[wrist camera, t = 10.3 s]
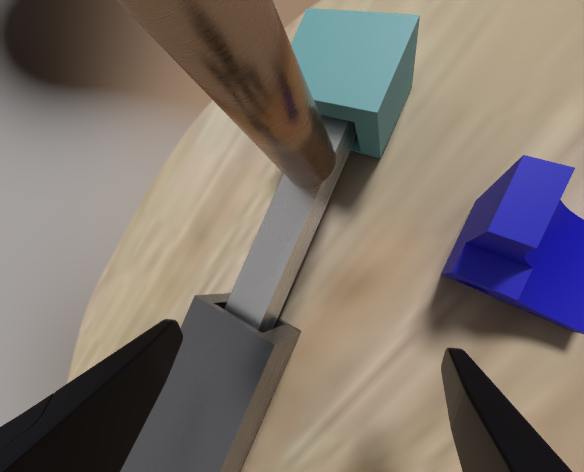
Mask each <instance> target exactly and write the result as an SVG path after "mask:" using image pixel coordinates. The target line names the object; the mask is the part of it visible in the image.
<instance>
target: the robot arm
mask: <svg viewBox="0 0 584 472" xmlns="http://www.w3.org/2000/svg"><path fill="white" fill-rule="evenodd" d="M182 341H183V333H182V331H181V329H180V327H179V325H178V322H177V321H176V320H171V319H165V320H163V321H161V322H160V323H158V324H157V325H155V326H154V327H152V328H151V329H149V330H148V331H146V332H145V333H143V334H142V335H140V336H139V337H137V338H135V339H134V340H132V341H131V342H129V343H128V344H126V345H125V346H123V347H122V348H120V349H119V350H117V351H116V352H114V353H113V354H111V355H110V356H108V357H107V358H105V359H104V360H102V361H101V362H99V363H98V364H96V365H95V366H93V367H92V368H90V369H89V370H87V371H86V372H84V373H83V374H81V375H80V376H78V377H77V378H75V379H74V380H72V381H71V382H69V383H68V384H66V385H65V386H63V387H62V388H60V389H59V390H57V391H56V392H55V393H54V394H51V395H50V396H48V397H47V398H45V399H44V400H42V401H41V402H39V403H38V404H36V405H35V406H33V407H32V408H30V409H28V410H27V411H25V412H24V413H22V414H21V415H19V416H18V417H16V418H14V419H13V420H11V421H9V422H8V423H6V424H4V425H3V426H1V427H0V472H120V471H121V469H122V467H123V465H124V463H125V461H126V460H127V458H128V456H129V454H130V452H131V450H132V448H133V446H134V444H135V442H136V440H137V438H138V436H139V434H140V432H141V430H142V428H143V426H144V424H145V422H146V420H147V418H148V416H149V415H150V413H151V411H152V409H153V407H154V405H155V403H156V401H157V399H158V397H159V395H160V393H161V391H162V389H163V387H164V385H165V383H166V381H167V378H168V376H169V374H170V371H171V369H172V366H173V364H174V361H175V359H176V356H177V354H178V351H179V349H180V346H181V344H182ZM441 372H442V379H443V384H444V390H445V396H446V402H447V408H448V414H449V420H450V426H451V430H452V434H453V438H454V442H455V446H456V449H457V453H458V456H459V460H460V464H461V467H462V471H463V472H572V471H571V470H570V469H569V467H568V466H567V465H566V464H565V463H564V462H563V461H562V460H561V459H560V457H559V456H558V455H557V454H556V453H555V452H554V451H553V450H552V448H551V447H550V446H549V445H548V444H547V443H546V442H545V441H544V439H543V438H542V437H541V436H540V435H539V434H538V433H537V432H536V431H535V429H534V428H533V427H532V426H531V425H530V424H529V423H528V422H527V420H526V419H525V418H524V417H523V416H522V415H521V414H520V413H519V411H518V410H517V409H516V408H515V407H514V406H513V405H512V404H511V403H510V401H509V400H508V399H507V398H506V397H505V396H504V395H503V394H502V392H501V391H500V390H499V389H498V388H497V387H496V386H495V385H494V384H493V382H492V381H491V380H490V379H489V378H488V377H487V376H486V375H485V373H484V372H483V371H482V370H481V369H480V368H479V367H478V366H477V364H476V363H475V362H474V361H473V360H472V359H471V358H470V357H469V356H468V354H467V353H466V352H465V351H464V350H462V349H458V348H447V349H446V350H445V354H444V357H443V361H442V365H441Z"/></svg>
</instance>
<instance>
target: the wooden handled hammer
mask: <svg viewBox="0 0 584 472" xmlns="http://www.w3.org/2000/svg"><path fill="white" fill-rule="evenodd" d="M117 1H118V2H119V3H120V4H121V5H122V6H123V7H124V8H125V9H126V10H127V11H128V12H129V13H130V15H131V16H132V17H133V18H134V19H135V20H136V21H137V22H138V23H139V24H140V25H141V26H142V27H143V28H144V29H145V30H146V31H147V32H148V33H149V34H150V35H151V36H152V37H153V38H154V39H155V40H156V41H157V43H158V44H159V45H161V47H162V48H163V49H164V50H165V51H166V52H167V53H168V54H169V55H170V56H171V57H172V58H173V59H174V60H175V61H176V62H177V63H178V64H179V65H180V66H181V67H182V68H183V69H184V70H185V72H186V73H187V74H188V75H189V76H190V77H191V78H192V79H193V80H194V81H195V82H196V83H197V84H198V85H199V86H200V87H201V88H202V89H203V90H204V91H205V92H206V93H207V94H208V95H209V96H210V97H211V99H212V100H213V101H214V102H215V103H216V104H217V105H218V106H219V107H220V108H221V109H222V110H223V111H224V112H225V113H226V114H227V115H228V116H229V117H230V118H231V119H232V120H233V121H234V122H235V123H236V124H237V125H238V126H239V128H240V129H241V130H242V131H243V132H244V133H245V134H246V135H247V136H248V137H249V138H250V139H251V140H252V141H253V142H254V143H255V144H256V145H257V146H258V147H259V148H260V149H261V150H262V151H263V152H264V153H265V154H266V155H267V157H268V158H269V159H270V160H271V161H272V162H273V163H274V164H275V165H276V166H277V167H278V168H279V169H280V170H281V171H282V172H283V173H284V174H283V176H282V179H281V181H280V183H279V185H278V188H277V190H276V192H275V194H274V197H273V199H272V201H271V204H270V206H269V208H268V210H267V213H266V215H265V217H264V220H263V222H262V224H261V226H260V229H259V231H258V233H257V236H256V238H255V240H254V242H253V245H252V247H251V249H250V251H249V254H248V256H247V258H246V261H245V263H244V265H243V267H242V270H241V272H240V274H239V277H238V279H237V281H236V283H235V286H234V288H233V290H232V293H231V295H230V297H229V299H228V302H227V304H226V306H225V309H224V310H226V311H227V312H229V313H231V314H232V315H234V316H236V317H237V318H239V319H240V320H242V321H244V322H245V323H247V324H249V325H250V326H252V327H253V328H255V329H257V330H258V331H260V332H262V333H264V332H267V331H269V330H272V329H273V328H274V326H275V323H276V321H277V319H278V316H279V314H280V312H281V309H282V307H283V305H284V303H285V300H286V298H287V296H288V293H289V291H290V289H291V286H292V284H293V282H294V280H295V277H296V275H297V273H298V270H299V268H300V266H301V263H302V261H303V259H304V257H305V254H306V252H307V250H308V247H309V245H310V243H311V240H312V238H313V236H314V234H315V231H316V229H317V227H318V224H319V222H320V220H321V217H322V215H323V213H324V211H325V208H326V206H327V204H328V201H329V199H330V197H331V194H332V192H333V190H334V188H335V185H336V183H337V181H338V178H339V176H340V174H341V171H342V169H343V167H344V165H345V162H346V160H347V158H348V155H349V153H350V151H351V148H352V146H353V144H354V142H355V139H356V137H357V132H356V127H355V123H354V122H351V121H346V120H342V119H338V118H333V117H329V116H324V115H320V114H319V111H318V109H317V106H316V104H315V102H314V99H313V97H312V94H311V92H310V90H309V87H308V85H307V82H306V80H305V78H304V75H303V73H302V70H301V68H300V66H299V63H298V61H297V58H296V56H295V54H294V51H293V49H292V46H291V44H290V42H289V39H288V37H287V34H286V32H285V30H284V27H283V25H282V23H281V20H280V18H279V15H278V13H277V10H276V8H275V6H274V3H273V1H272V0H117Z"/></svg>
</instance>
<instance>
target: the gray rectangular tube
mask: <svg viewBox="0 0 584 472" xmlns="http://www.w3.org/2000/svg"><path fill="white" fill-rule="evenodd" d="M230 295H231V293H228V294H211V295H195V297H194V299H193V301H192V303H191V306H190V308H189V310H188V313H187V315H186V317H185V319H184V322H183V324H182V326H181V328H180V329H181V331H182V333H183V341H182V344H181V346H180V349H179V351H178V354H177V356H176V359H175V361H174V364H173V366H172V369H171V371H170V374H169V376H168V378H167V381H166V383H165V385H164V387H163V389H162V391H161V393H160V395H159V397H158V399H157V401H156V403H155V405H154V407H153V409H152V411H151V413H150V415H149V416H148V418H147V420H146V422H145V424H144V426H143V428H142V430H141V432H140V434H139V436H138V438H137V440H136V442H135V444H134V446H133V448H132V450H131V452H130V454H129V456H128V458H127V460H126V461H125V463H124V465H123V467H122V469H121V471H120V472H240V471H241V469H242V466H243V464H244V462H245V459H246V457H247V455H248V453H249V450H250V448H251V446H252V443H253V441H254V439H255V436H256V434H257V432H258V429H259V427H260V425H261V423H262V420H263V418H264V416H265V413H266V411H267V409H268V406H269V404H270V402H271V399H272V397H273V395H274V392H275V390H276V388H277V386H278V383H279V381H280V379H281V376H282V374H283V372H284V369H285V367H286V365H287V362H288V360H289V358H290V356H291V353H292V351H293V349H294V346H295V344H296V342H297V339H298V337H299V335H300V332H301V331H300V330H298V329H297V328H295V327H293V326H291V325H290V324H288V323H286V322H284V321H283V320H281V319H279V318H278V319H277V321H276V323H275V326H274V328H273V329H272V330H269V331H267V332H264V333H262V332H260V331H258V330H257V329H255V328H253V327H252V326H250V325H249V324H247V323H245V322H244V321H242V320H240V319H239V318H237V317H236V316H234V315H232V314H231V313H229V312H227V311H226V310H224V309H225V306H226V304H227V302H228V299H229V297H230Z"/></svg>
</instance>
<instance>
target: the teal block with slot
mask: <svg viewBox="0 0 584 472" xmlns="http://www.w3.org/2000/svg"><path fill="white" fill-rule="evenodd" d="M419 17H420V15H411V14H395V13H378V12H362V11H345V10H328V9H312V8H307V10H306V12H305V14H304V16H303V19H302V21H301V23H300V25H299V28H298V30H297V32H296V35H295V37H294V39H293V41H292V44H291V46H292V49H293V51H294V54H295V56H296V58H297V61H298V63H299V66H300V68H301V70H302V73H303V75H304V78H305V80H306V82H307V85H308V87H309V90H310V92H311V94H312V97H313V99H314V102H315V104H316V106H317V109H318V111H319V114H320V115H324V116H329V117H333V118H338V119H342V120H346V121H351V122H354V123H355V127H356V132H357V137H356V139H355V142H354V144H353V146H352V148H351V151H353V152H357V153H361V154H365V155H368V156H372V157H376V158H380V159H381V157H382V155H383V153H384V150H385V148H386V146H387V143H388V141H389V139H390V136H391V134H392V132H393V129H394V127H395V125H396V122H397V120H398V118H399V116H400V113H401V111H402V109H403V106H404V104H405V102H406V99H407V97H408V95H409V92H410V90H411V88H412V81H413V72H414V62H415V53H416V44H417V35H418V26H419Z"/></svg>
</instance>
